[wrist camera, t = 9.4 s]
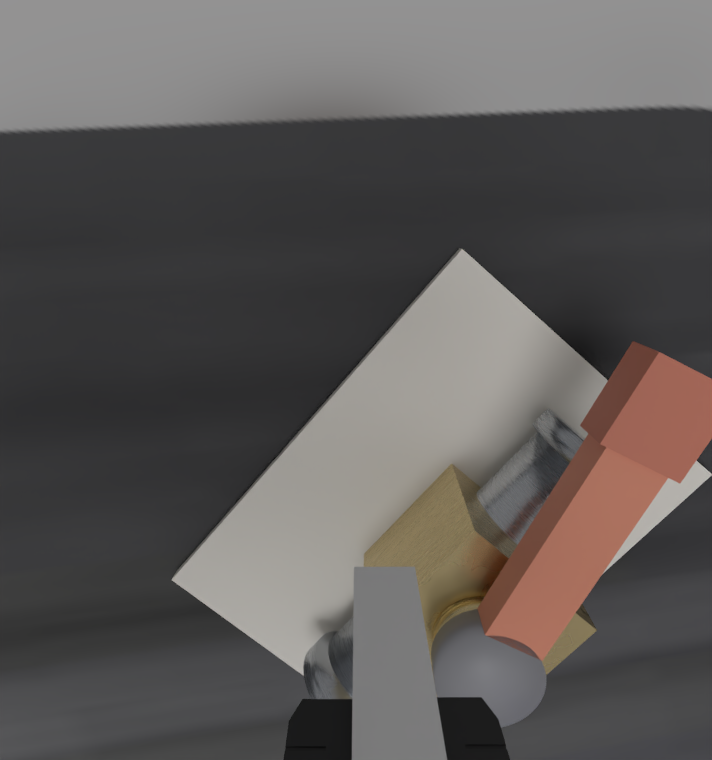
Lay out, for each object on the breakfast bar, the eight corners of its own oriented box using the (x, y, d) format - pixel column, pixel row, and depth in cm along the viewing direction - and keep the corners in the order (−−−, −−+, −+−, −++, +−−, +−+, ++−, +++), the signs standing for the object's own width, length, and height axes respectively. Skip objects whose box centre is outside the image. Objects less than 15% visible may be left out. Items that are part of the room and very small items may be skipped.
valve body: (301, 618, 37) (280, 732, 29) (525, 386, 33) (578, 440, 25) (394, 687, 38) (401, 817, 30) (623, 472, 34) (706, 552, 26)
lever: (620, 334, 23) (645, 344, 21) (721, 386, 24) (755, 401, 21) (412, 669, 27) (415, 705, 25) (501, 708, 28) (512, 748, 26)
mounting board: (176, 570, 38) (171, 579, 37) (459, 248, 32) (462, 248, 31) (406, 738, 41) (406, 750, 40) (702, 468, 35) (712, 474, 34)
